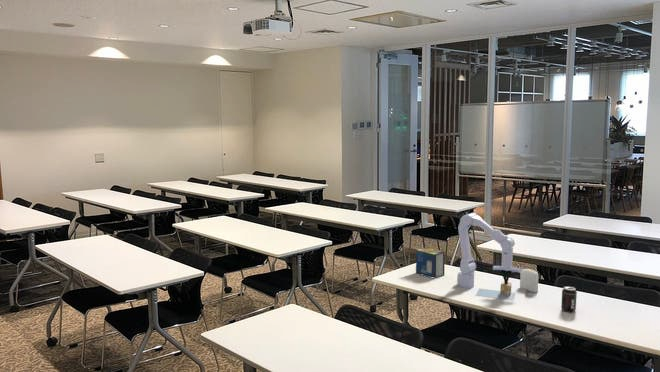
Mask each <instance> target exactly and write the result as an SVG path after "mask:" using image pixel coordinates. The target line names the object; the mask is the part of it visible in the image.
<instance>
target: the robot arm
mask: <svg viewBox="0 0 660 372" xmlns="http://www.w3.org/2000/svg"><path fill="white" fill-rule="evenodd" d="M459 221H460V222H459V224H458V227H457V229H458V237H459V243H460V251H461V259H460V265H459V270H460V271H458V273H457V279H456V286H457V287H461V288H466V289H472V288H474V287H475V271H476V270H477V263H476V262H475V259H474V257H473V256H472V249H471V244H470V243H471V241H470V235H469V229H470V228H471V227H473V226H474V227H475V226H476V227H480V228H481V229H482V230H484V231H485V232H486V233H488V234H489V235H490V238H492V239H493V240H494V242H497V243H498V244H499V246H500V247H501V265H493V266H492V270H493V271H501V273H500V274H501V275H502V277H503V282H505V284H508V282H509V279H510V276H511V275H512V273H519V274H520V272H521V270H522V268H520V267H519V268H518V267H514V266H513V256H514V255H513V254H514V247H515V244H516V243H515V240H514V239H513V238H512V237H510V236H508V235H505V234H504V233H503V232H502V230H501V229H497V228H496V229H495V228H493V227H492V226H491V225H489V223H487V221H485V220H484V219H482V217H481V216H480V215H478V214H477V213H476V212H470V213H468V214H464V215H463V216H462V217H460V219H459Z"/></svg>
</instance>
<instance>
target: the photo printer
mask: <svg viewBox="0 0 660 372" xmlns="http://www.w3.org/2000/svg"><path fill="white" fill-rule="evenodd" d="M519 274H520V275H519V278H520V279H519V289H520V290H521V289H523V290H526V291H528V292H532V293H537V292H538V291H539V273H538V272H537V271H536V270H533V269H529V268H523V269H522V268H521V272H520V273H519Z"/></svg>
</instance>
